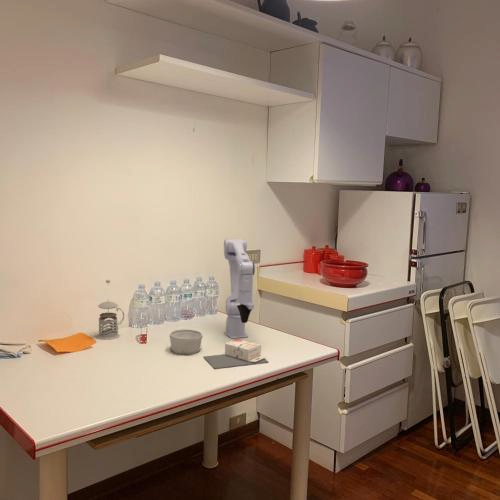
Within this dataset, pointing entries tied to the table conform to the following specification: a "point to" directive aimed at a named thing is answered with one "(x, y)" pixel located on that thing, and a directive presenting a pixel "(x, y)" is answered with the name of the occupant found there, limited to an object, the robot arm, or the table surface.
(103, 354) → the table surface
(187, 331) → the ramekin
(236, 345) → the ink cartridge box
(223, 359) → the mat
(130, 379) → the table surface
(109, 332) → the french press
